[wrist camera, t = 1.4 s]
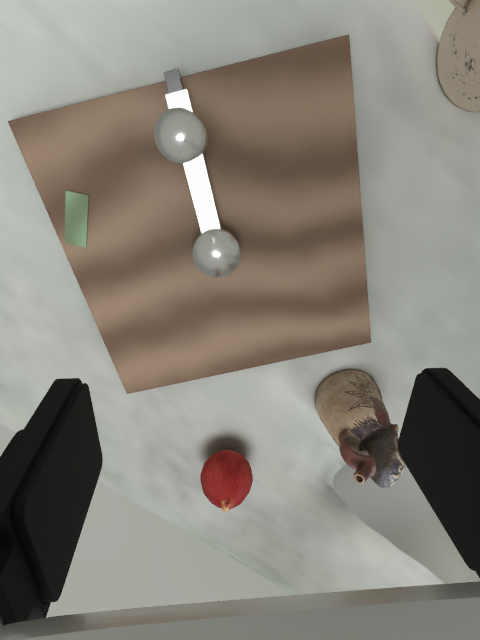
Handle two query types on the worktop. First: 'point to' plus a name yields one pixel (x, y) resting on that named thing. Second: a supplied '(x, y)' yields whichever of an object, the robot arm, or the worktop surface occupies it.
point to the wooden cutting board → (233, 212)
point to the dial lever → (195, 178)
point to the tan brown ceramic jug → (360, 426)
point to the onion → (226, 479)
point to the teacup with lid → (461, 55)
